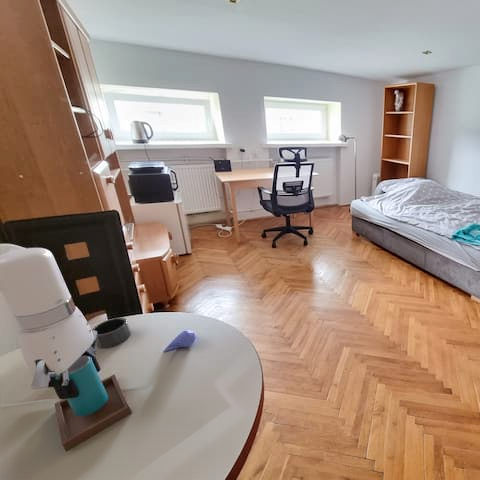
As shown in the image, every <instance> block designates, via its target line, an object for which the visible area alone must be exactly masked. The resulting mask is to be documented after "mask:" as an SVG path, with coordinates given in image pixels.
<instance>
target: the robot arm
mask: <svg viewBox="0 0 480 480" xmlns="http://www.w3.org/2000/svg"><path fill="white" fill-rule="evenodd" d="M0 293H1V294H2V296H3V298H4V300H5V302H6V304H7V306H8V308H9V310H10V311H11V313H12V315H13V317H14V319H15V320H16V323H17V324H18V326H19V328H20V331H18V332H17V338H18V344H19V348H20V352H21V356H22V357H23V360H24V363H25V365H26V367H27V369H28V372H29V373H30V375H31V376H32V377H33V379H32V382H31V387H30V389H32V390H36V389H44V388H45V389H46V388H53V390H54V391H55V394H56V395H57V397H58V399H59V400H63V399H69V398H76V397H78V396H79V391H78V389H77V387H76V385H75V383H74V381H73V380H70V381H69V373H68V368H69V367H70V366H71V365H72V364H73V363H74V362H75V361H76V360H77V359H78V358H79V357H80V356H89V357H91V359H92V361H93V363H94V366H95V368H96V370H97V372H98V373H100V372H101V366H100V364H99V362H98V360H97V358H96V354H97V350H96V341H95V340H96V336H97V331H95V330H92V329H91V327H90V324H89V322H88V321H87V319H86V317H85V316H84V314H83V313H82V311H81V310H80V309H79V308H78V306H76V305H75V302H74V300H73V297H72V294H71V293H70V290H69V289H68V286H67V284H66V281H65V280H64V277H63V275H62V272H61V270H60V268H59V266H58V264H57V261H56V259H55V256H54V254H53V253H52V251H50V250H49V249H47V248H43V247H23V246H20V245H16V244H13V243H0ZM56 374H60V379H56Z"/></svg>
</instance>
